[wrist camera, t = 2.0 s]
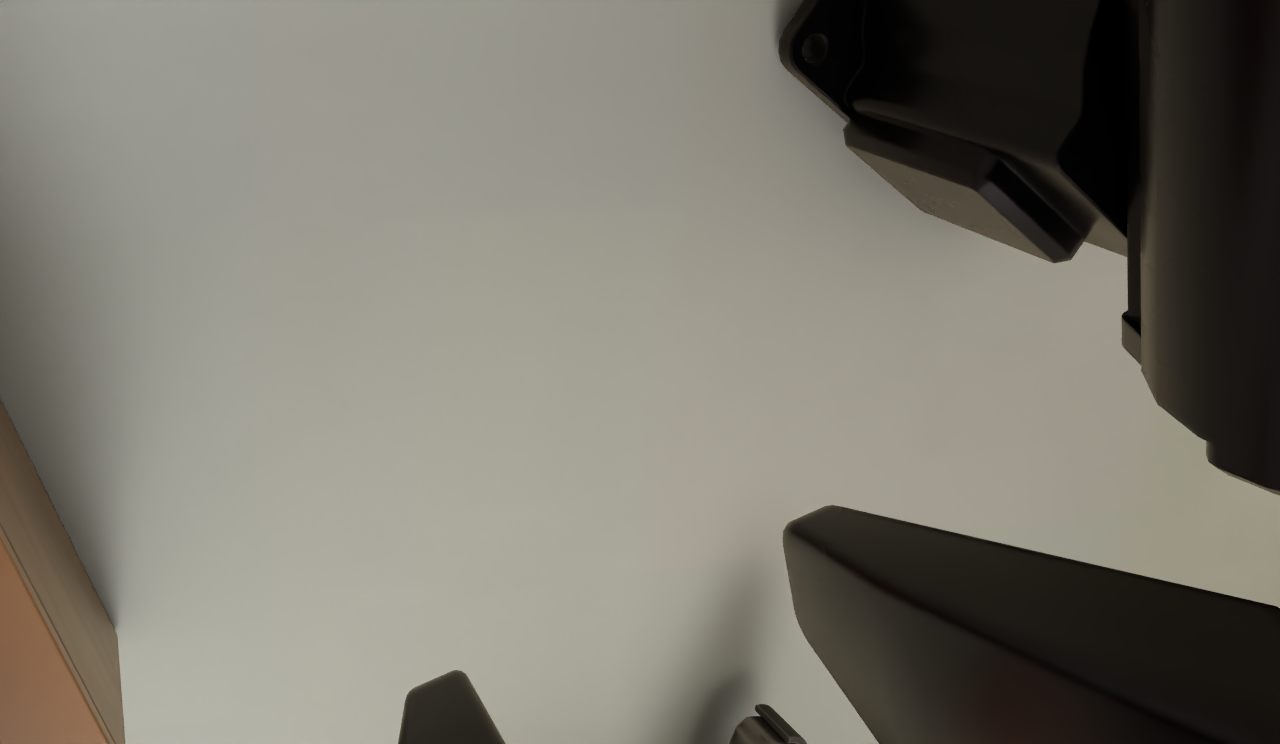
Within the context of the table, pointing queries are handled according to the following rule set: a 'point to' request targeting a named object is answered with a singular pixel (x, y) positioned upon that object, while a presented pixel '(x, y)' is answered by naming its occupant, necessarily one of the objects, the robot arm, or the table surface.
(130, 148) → the table surface
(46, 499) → the stand
